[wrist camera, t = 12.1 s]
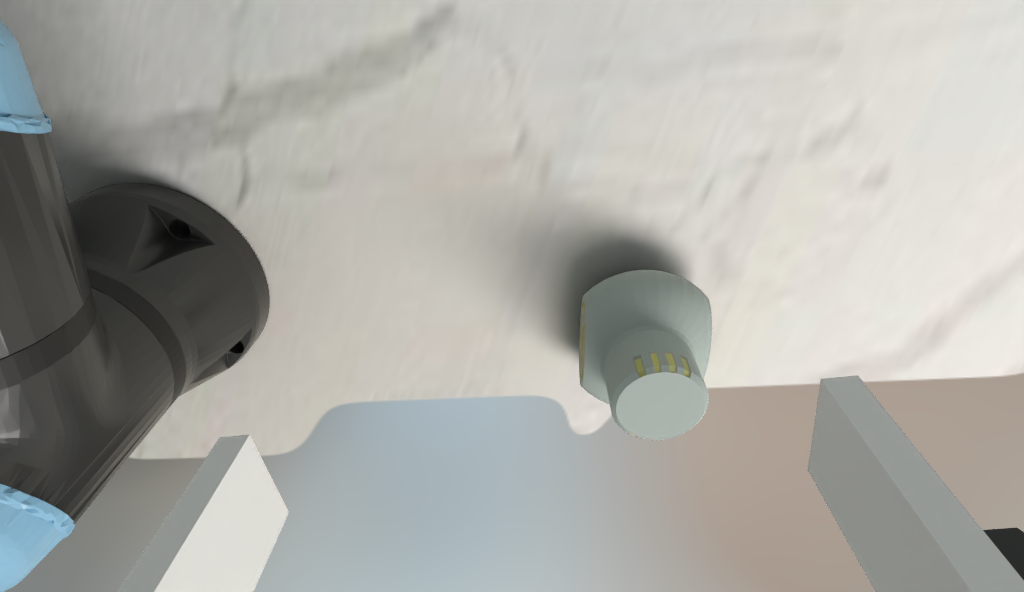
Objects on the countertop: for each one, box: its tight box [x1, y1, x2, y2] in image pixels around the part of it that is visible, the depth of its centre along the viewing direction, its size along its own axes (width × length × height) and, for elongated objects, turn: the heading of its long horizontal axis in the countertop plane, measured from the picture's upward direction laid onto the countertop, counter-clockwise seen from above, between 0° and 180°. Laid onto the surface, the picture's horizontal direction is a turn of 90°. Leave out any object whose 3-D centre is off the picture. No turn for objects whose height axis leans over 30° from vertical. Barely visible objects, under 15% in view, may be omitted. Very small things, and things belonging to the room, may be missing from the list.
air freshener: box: [579, 270, 712, 440], centre depth 39 cm, size 11×8×10 cm
